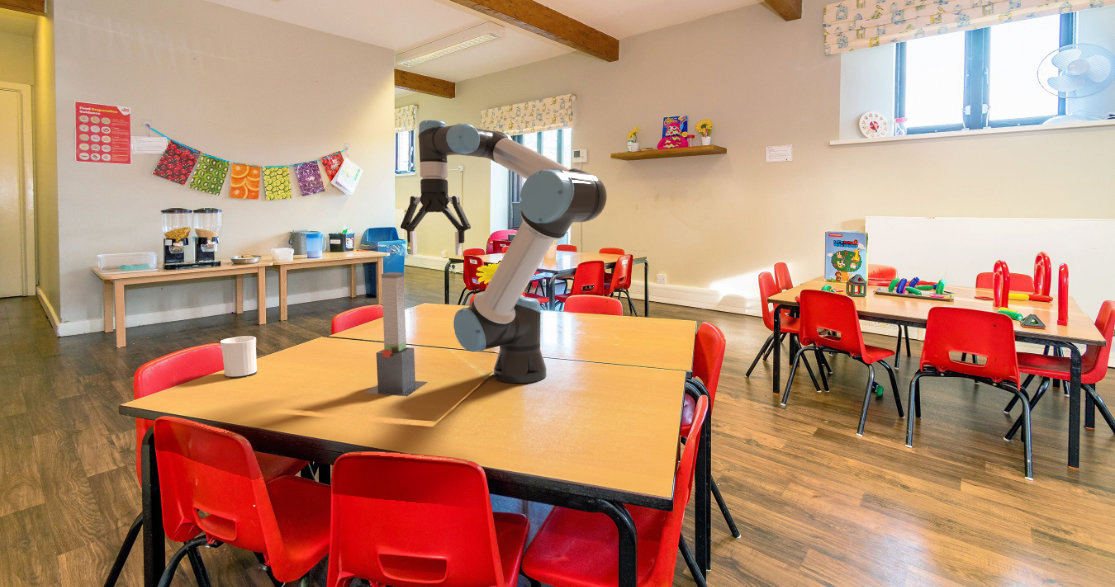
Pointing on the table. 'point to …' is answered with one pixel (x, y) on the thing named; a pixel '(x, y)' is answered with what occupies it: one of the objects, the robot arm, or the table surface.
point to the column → (393, 312)
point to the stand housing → (396, 373)
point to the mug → (239, 356)
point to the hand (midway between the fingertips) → (436, 254)
